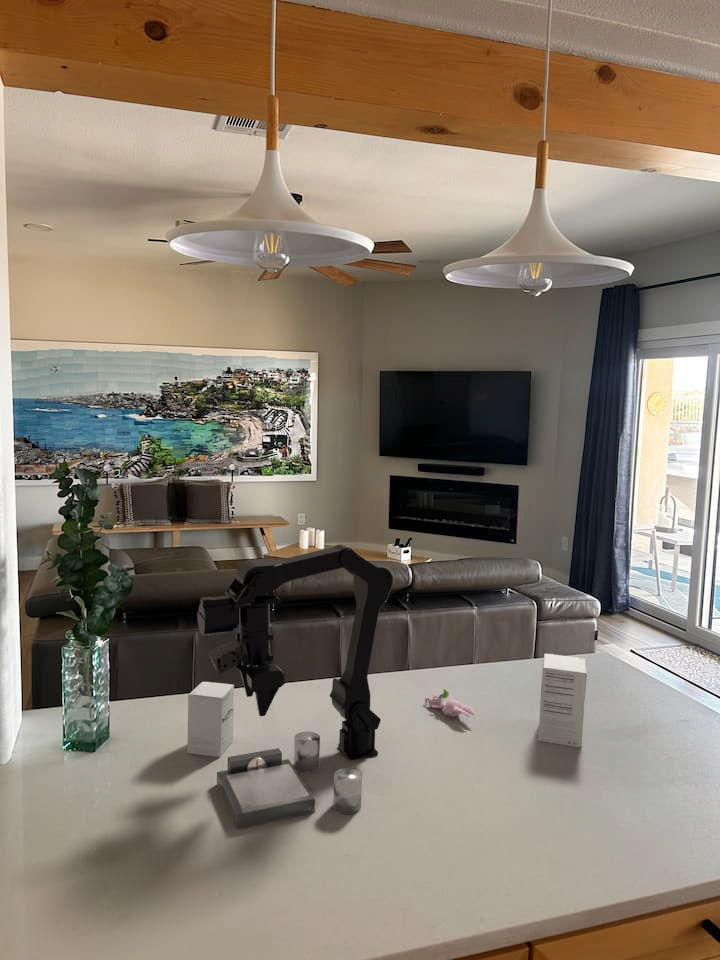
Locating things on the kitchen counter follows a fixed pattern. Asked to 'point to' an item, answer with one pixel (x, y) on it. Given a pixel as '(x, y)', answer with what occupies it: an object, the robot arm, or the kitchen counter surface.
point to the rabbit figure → (449, 705)
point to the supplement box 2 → (562, 700)
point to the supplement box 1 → (210, 718)
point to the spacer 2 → (347, 791)
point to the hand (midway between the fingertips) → (255, 705)
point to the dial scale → (263, 789)
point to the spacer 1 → (306, 751)
